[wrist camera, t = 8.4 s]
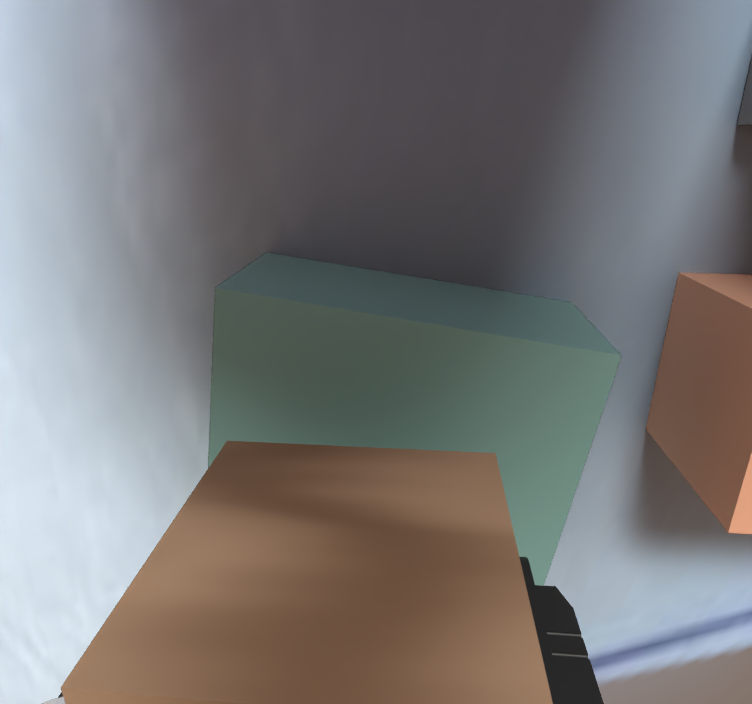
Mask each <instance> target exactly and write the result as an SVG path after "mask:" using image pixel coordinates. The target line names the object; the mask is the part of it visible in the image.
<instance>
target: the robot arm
mask: <svg viewBox="0 0 752 704" xmlns="http://www.w3.org/2000/svg"><path fill="white" fill-rule="evenodd" d="M519 558H520V562H521V566H522V571H523V575H524V580H525V584H526V588H527V593H528V597H529V601H530V606H531V610H532V614H533V619H534V623H535V628H536V632H537V636H538V641H539V645H540V649H541V654H542V658H543V662H544V667H545V671H546V676H547V680H548V684H549V689H550V693H551V697H552V702H553V704H604V703H603V700H602V697H601V694H600V691H599V688H598V684H597V681H596V678H595V675H594V672H593V669H592V666H591V662H590V660H589V659H588V653H587V650H586V647H585V644H584V641H583V638H581V631H580V628H579V625H578V622H577V619H576V616H575V612H574V609H573V607H572V606H571V605H570V604H569V603H568V601H567V600H566V599H565V598H564V596H563V595H562V594H561V593H560V591H559V590H558V589H557V588H556V586H540V585H535V583H534V579H533V575H532V571H531V567H530V563H529V560H528V558H527V557H519ZM42 704H65V701H64V697H63V694H62V693H61V694H60V695H59V697H58V698H55V699H52V700H49V701H46V702H44V703H42Z"/></svg>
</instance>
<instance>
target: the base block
mask: <svg viewBox="0 0 752 704" xmlns="http://www.w3.org/2000/svg"><path fill="white" fill-rule="evenodd" d="M621 356H622V355H621V354H620V353H619V352H618V351H617V350H616V349H615V348H614V347H613V346H612V345H611V344H610V343H609V342H608V340H607V339H606V338H605V337H604V336H603V335H602V334H601V333H600V332H599V331H598V330H597V329H596V328H595V327H594V326H593V324H592V323H591V322H590V321H589V320H588V319H587V318H586V317H585V316H584V315H583V314H582V313H581V312H580V311H579V310H578V309H577V307H576V306H575V305H574V304H573V303H572V302H567V301H561V300H554V299H548V298H542V297H536V296H530V295H524V294H518V293H512V292H506V291H500V290H494V289H487V288H481V287H475V286H469V285H463V284H457V283H451V282H445V281H439V280H433V279H426V278H420V277H414V276H408V275H402V274H396V273H390V272H384V271H378V270H372V269H365V268H359V267H353V266H347V265H341V264H335V263H329V262H323V261H317V260H311V259H304V258H298V257H292V256H286V255H280V254H274V253H268V252H267V253H265V254H264V255H262V256H261V257H259V258H258V259H257V260H255V261H254V262H252V263H251V264H249V265H248V266H246V267H245V268H243V269H242V270H240V271H239V272H237V273H236V274H235V275H233V276H232V277H230V278H229V279H227V280H226V281H224V282H223V283H221V284H220V285H218V286H217V287H215V299H214V326H213V352H212V378H211V404H210V430H209V456H208V468H209V467H210V465H211V464H212V462H213V461H214V459H215V458H216V456H217V455H218V453H219V452H220V450H221V449H222V447H223V446H224V444H225V443H226V442H227V441H245V442H267V443H288V444H309V445H331V446H352V447H374V448H395V449H417V450H438V451H460V452H481V453H496V457H497V462H498V466H499V470H500V475H501V479H502V483H503V488H504V492H505V497H506V501H507V505H508V510H509V514H510V518H511V523H512V527H513V531H514V536H515V540H516V545H517V549H518V553H519V557H527V558H528V560H529V563H530V567H531V571H532V575H533V579H534V583H535V585H540V586H544V583H545V580H546V577H547V574H548V571H549V568H550V565H551V562H552V559H553V556H554V553H555V550H556V548H557V545H558V542H559V539H560V536H561V533H562V530H563V527H564V524H565V521H566V518H567V515H568V512H569V509H570V506H571V503H572V500H573V497H574V495H575V492H576V489H577V486H578V483H579V480H580V477H581V474H582V471H583V468H584V465H585V462H586V459H587V456H588V453H589V450H590V447H591V444H592V442H593V439H594V436H595V433H596V430H597V427H598V424H599V421H600V418H601V415H602V412H603V409H604V406H605V403H606V400H607V397H608V394H609V391H610V389H611V386H612V383H613V380H614V377H615V374H616V371H617V368H618V365H619V362H620V359H621Z"/></svg>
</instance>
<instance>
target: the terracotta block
mask: <svg viewBox="0 0 752 704" xmlns="http://www.w3.org/2000/svg"><path fill="white" fill-rule="evenodd" d="M646 430H647V431H648V432H649V434H650V435H651V436H652V437H653V439H654V440H655V441H656V442H657V444H658V445H659V446H660V447H661V449H662V450H663V451H664V452H665V454H666V455H667V456H668V458H669V459H670V460H671V461H672V463H673V464H674V465H675V466H676V468H677V469H678V470H679V471H680V473H681V474H682V475H683V476H684V478H685V479H686V480H687V482H688V483H689V484H690V485H691V487H692V488H693V489H694V490H695V492H696V493H697V494H698V495H699V497H700V498H701V499H702V500H703V502H704V503H705V504H706V506H707V507H708V508H709V509H710V511H711V512H712V513H713V514H714V516H715V517H716V518H717V519H718V521H719V522H720V523H721V524H722V526H723V527H724V528H725V530H726V531H727V532H728V533H740V534H752V274H717V273H678V278H677V283H676V287H675V292H674V297H673V302H672V306H671V311H670V316H669V321H668V325H667V330H666V335H665V340H664V344H663V349H662V354H661V359H660V363H659V368H658V373H657V378H656V382H655V387H654V392H653V397H652V401H651V406H650V411H649V416H648V420H647V425H646Z"/></svg>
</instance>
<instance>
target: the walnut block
mask: <svg viewBox="0 0 752 704" xmlns="http://www.w3.org/2000/svg"><path fill="white" fill-rule="evenodd" d="M61 690H62V694H63V697H64V701H65V704H553V702H552V697H551V693H550V689H549V684H548V680H547V676H546V671H545V667H544V662H543V658H542V654H541V649H540V645H539V641H538V636H537V632H536V628H535V623H534V619H533V614H532V610H531V606H530V601H529V597H528V593H527V588H526V584H525V580H524V575H523V571H522V566H521V562H520V558H519V553H518V549H517V545H516V540H515V536H514V531H513V527H512V523H511V518H510V514H509V510H508V505H507V501H506V497H505V492H504V488H503V483H502V479H501V475H500V470H499V466H498V462H497V457H496V453H481V452H460V451H438V450H417V449H395V448H374V447H352V446H331V445H309V444H288V443H267V442H245V441H227V442H226V443H225V444H224V446H223V447H222V449H221V450H220V452H219V453H218V455H217V456H216V458H215V459H214V461H213V462H212V464H211V465H210V467H209V468H208V470H207V471H206V473H205V474H204V476H203V477H202V479H201V480H200V482H199V483H198V485H197V486H196V488H195V489H194V491H193V492H192V493H191V495H190V496H189V498H188V499H187V501H186V502H185V504H184V505H183V507H182V508H181V510H180V511H179V513H178V514H177V516H176V517H175V519H174V520H173V522H172V523H171V525H170V526H169V528H168V529H167V531H166V532H165V534H164V535H163V537H162V538H161V540H160V541H159V542H158V544H157V545H156V547H155V548H154V550H153V551H152V553H151V554H150V556H149V557H148V559H147V560H146V562H145V563H144V565H143V566H142V568H141V569H140V571H139V572H138V574H137V575H136V577H135V578H134V580H133V581H132V583H131V584H130V586H129V587H128V588H127V590H126V591H125V593H124V594H123V596H122V597H121V599H120V600H119V602H118V603H117V605H116V606H115V608H114V609H113V611H112V612H111V614H110V615H109V617H108V618H107V620H106V621H105V623H104V624H103V626H102V627H101V629H100V630H99V632H98V633H97V635H96V636H95V637H94V639H93V640H92V642H91V643H90V645H89V646H88V648H87V649H86V651H85V652H84V654H83V655H82V657H81V658H80V660H79V661H78V663H77V664H76V666H75V667H74V669H73V670H72V672H71V673H70V675H69V676H68V678H67V679H66V681H65V682H64V684H63V685H62V686H61Z"/></svg>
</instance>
